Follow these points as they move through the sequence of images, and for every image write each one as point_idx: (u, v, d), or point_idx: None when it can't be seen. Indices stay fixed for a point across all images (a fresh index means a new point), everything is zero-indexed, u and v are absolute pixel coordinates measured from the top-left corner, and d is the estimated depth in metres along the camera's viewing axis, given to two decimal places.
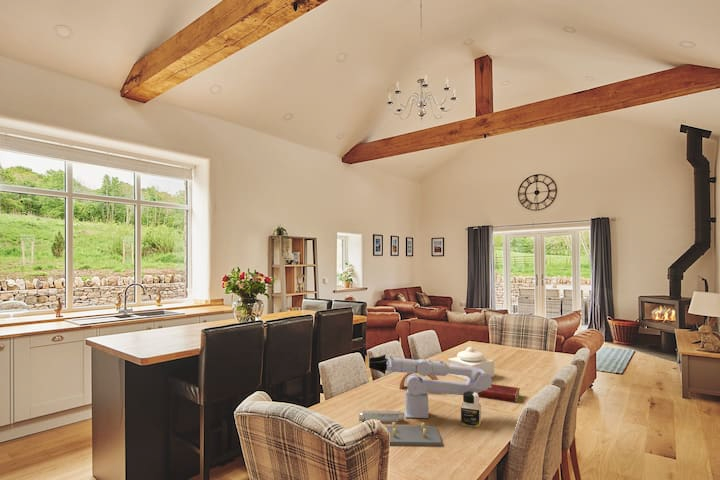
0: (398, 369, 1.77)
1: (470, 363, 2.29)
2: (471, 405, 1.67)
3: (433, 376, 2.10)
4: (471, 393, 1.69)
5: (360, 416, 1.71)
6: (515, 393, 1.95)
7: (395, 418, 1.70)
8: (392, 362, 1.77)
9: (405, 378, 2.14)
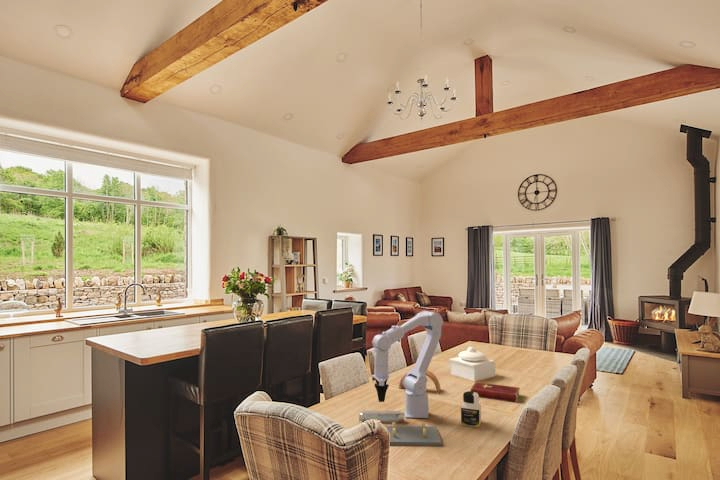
0: (384, 369, 1.70)
1: (471, 363, 2.29)
2: (471, 405, 1.67)
3: (432, 376, 2.10)
4: (471, 393, 1.69)
5: (360, 416, 1.71)
6: (515, 393, 1.95)
7: (395, 418, 1.70)
8: (377, 375, 1.70)
9: None
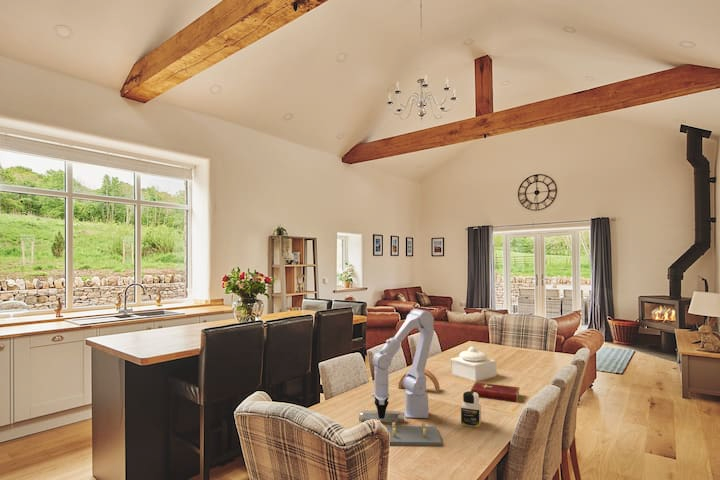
0: (384, 387, 1.70)
1: (472, 363, 2.29)
2: (471, 405, 1.67)
3: (432, 376, 2.10)
4: (471, 393, 1.69)
5: (360, 416, 1.71)
6: (516, 393, 1.96)
7: (395, 418, 1.70)
8: (377, 394, 1.70)
9: None
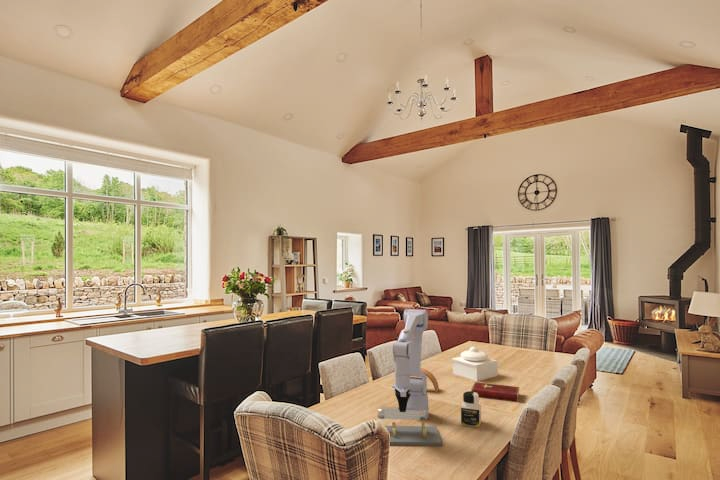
0: (405, 378, 1.58)
1: (474, 363, 2.29)
2: (471, 405, 1.67)
3: (431, 376, 2.10)
4: (471, 393, 1.69)
5: (379, 412, 1.59)
6: (516, 392, 1.96)
7: (417, 415, 1.58)
8: (398, 385, 1.58)
9: None
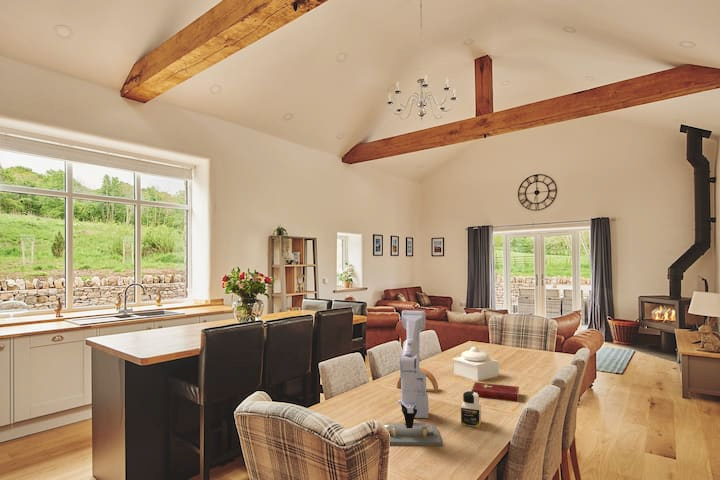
0: (412, 394, 1.54)
1: (474, 363, 2.29)
2: (471, 405, 1.67)
3: (430, 375, 2.10)
4: (471, 393, 1.69)
5: None
6: (517, 392, 1.96)
7: None
8: (405, 401, 1.55)
9: None
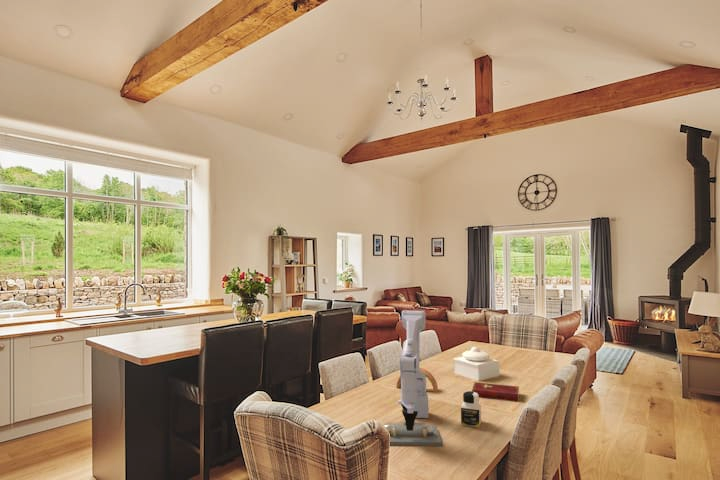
0: (412, 394, 1.54)
1: (475, 363, 2.29)
2: (471, 405, 1.67)
3: (430, 375, 2.11)
4: (471, 393, 1.69)
5: None
6: (517, 392, 1.97)
7: None
8: (405, 401, 1.55)
9: None
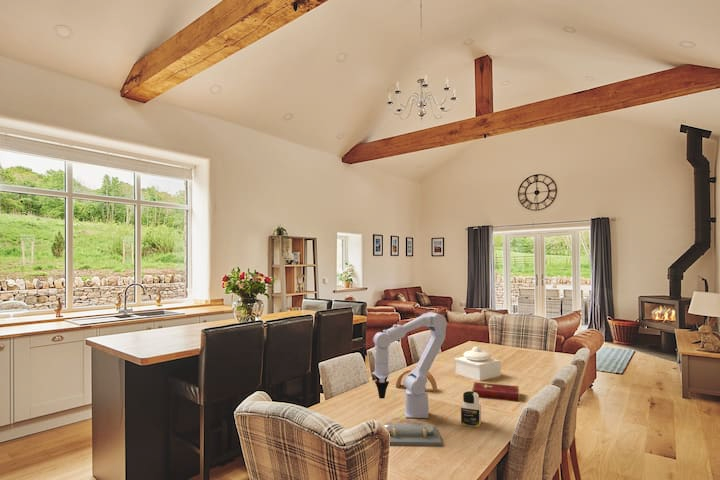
0: (384, 366, 1.73)
1: (476, 363, 2.30)
2: (471, 405, 1.67)
3: (429, 375, 2.11)
4: (471, 393, 1.69)
5: None
6: (517, 392, 1.97)
7: None
8: (378, 372, 1.73)
9: (401, 377, 2.16)
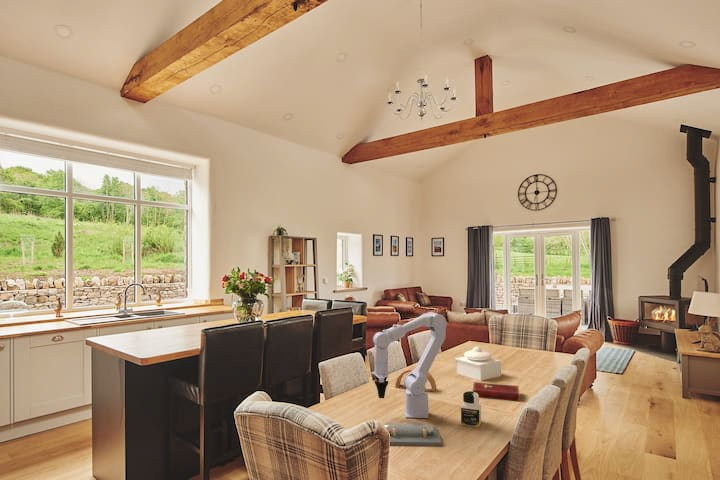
0: (384, 366, 1.73)
1: (477, 363, 2.30)
2: (471, 405, 1.67)
3: (428, 375, 2.11)
4: (471, 393, 1.69)
5: None
6: (517, 391, 1.97)
7: None
8: (377, 372, 1.73)
9: (401, 377, 2.17)
